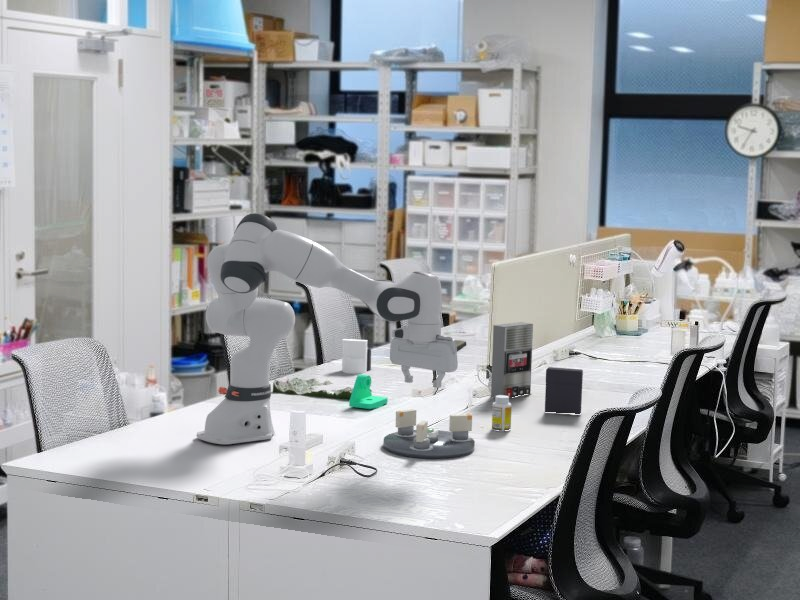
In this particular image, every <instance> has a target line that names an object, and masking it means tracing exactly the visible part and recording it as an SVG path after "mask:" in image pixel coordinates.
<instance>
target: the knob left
mask: <svg viewBox="0 0 800 600" xmlns="http://www.w3.org/2000/svg"><path fill="white" fill-rule="evenodd" d="M428 423H429V422H428V421H427V420H421V421H420V422H418V424H417V423H416V426H415V427H416V429H415V430H416V438H414V439H413V447H414V448H418V449H427V448H430V439H428V438H427V428H428Z"/></svg>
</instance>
